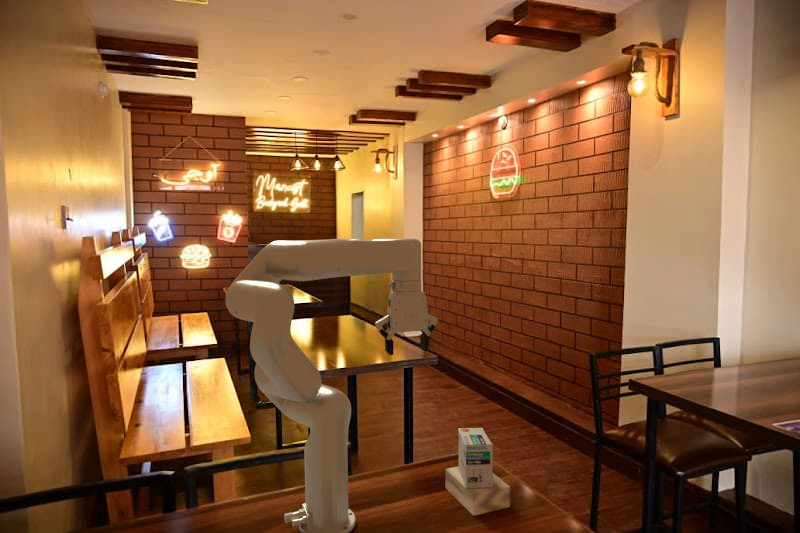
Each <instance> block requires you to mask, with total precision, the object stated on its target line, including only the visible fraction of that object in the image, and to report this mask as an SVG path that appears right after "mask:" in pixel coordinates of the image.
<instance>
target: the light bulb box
mask: <svg viewBox="0 0 800 533" xmlns="http://www.w3.org/2000/svg"><path fill="white" fill-rule="evenodd" d="M457 433H458V435H457V437H458V439H457V440H458V466H459V471H460V473H461V476H462V479H463V482H464V484H465V487H466V488H492V487H493V473H494V472H493V470H494V469H493V466H494V465H493V464H494V462H493V461H494V460H493V459H494V458H493V455H494V451H493V450H494V448H493V445H494V444H493V443H492V441H491V439H490V438H489V437H488V435H487V433H486V430H484V428H483V427H465V428H464V427H461V428H458V432H457Z"/></svg>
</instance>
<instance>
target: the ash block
mask: <svg viewBox="0 0 800 533" xmlns="http://www.w3.org/2000/svg"><path fill="white" fill-rule="evenodd" d="M444 475H445V489H446V490H447V491H448V492H449V493H450V494H451V495H452V497H453V498H455V499H456V500H457V501H458V503H460V504H461V505H462V506H463V507H464V508H465V509H466V510H467V511H468V512H469V514H471V515H472V516H473V517H475V516H478V515H482V514H487V513H491V512H495V511H499V510H502V509H507V508H511V507H510V506H511V486H510V485H509V484H508V483H507V482H505V481H504V480H503V479H502V478H500V477H499V476H497V475H496V474H495V472H493V487H492V488H466V487H465V484H464V482H463V479H462V476H461V473H460V471H459V465H458V466H453V467H449V468H445V474H444Z"/></svg>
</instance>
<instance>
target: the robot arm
mask: <svg viewBox="0 0 800 533" xmlns="http://www.w3.org/2000/svg"><path fill="white" fill-rule="evenodd" d="M379 274H380V275H381V274H391V282H388V283H387V284H386V286H387V289H390V290H391V291H390V292H389V296H388V301H387V302H388V303H387V310H386V311H387V312H386V315H385V316H383V317H382V318H380V319H378V320H377V321H375V323H374V326H375V327H376V330H377V331H378V333H379V334H380V335H381V336H382V337H383V338H384V348H385V349H384V350H385V352H386V354H388V355H389V356H393V355H394V340H393V339H392V338H393V337H394V335H395V334H396V333H398V334H399V333H409V332H419V331H420V332H421V334H420V336H419V337H420V342H419V343H420V346H419V347H420V349H421V350H422V351H424V352H428V351H429V346H430V336H431V334H432V332H434V330H435V328H436V325H437V323H438V320H439V318H438V317H436V316H434V315H432V314H429V312H428V311H429V310H428V303H427V297H426V293H425V291H422V243H421V241H420V239H417V238H374V239H372V240H369V239H359V238H358V239H357V238H331V239H329V238H327V239H311V240H310V239H307V240H281V239H279V240H274V241H272V242H270V243H268V244H267V245H265V247H263V248H262V249H261V250H259V252H258V253H257V254H256V255H255V256H254V258H252V259H251V261H250V262H249V263H248V264H247V266H245V267H244V269H242V271H241V272H240V273H239V274H238V276H237V277H236V278H235V279H234V280H233V282H231V284H230V285H229V287H228V289H227V291H226V294H225V306H226V308H227V311H228V312H229V313H230V315H232V316H233V317H234V318H236V319H239V320H242V321H245V322H250V323H253V324H252V326H251V332H250V340H249V341H250V342H249V350H250V355H251V357H252V359H253V361H254V362H255V363H256V364H255V367H254V373H253V374H254V380H255V383H256V385H257V387H258V388H259V390H260V391H261V392H262V393H263V394H264V395H265V397H266V398H267V399H268V400H269V401H270V402H271V403H272V404H273V405H275V407H276V408H277V409H278V411H280V413H282V414H284V416H286V418H289V419H290V420H292V421H295V422H297V423H300V424H302V425H304V426H306V427H307V428H309V429H310V430H309V431H310V432H309V434H308V436H307V439H306V441H305V444H304V451H303V453H304V454H303V455H304V458H303V459H304V486H305V488H304V492H305V493H304V494H305V499H304V500H305V502H304V503H302V506H301V508H300V509H299V508H298V510H296V511H292V512H287V513H284V515H283V518H284V523H285V524H287V523H291V526H292V527H297V526H298V528H299V531H300V533H350V532H351V531H352V530H353V529H354V527H355V525H356V515H355V513H354V511H353V510H351V509H350V508H349V472H348V471H349V470H348V468H349V466H348V463H349V462H348V461H349V460H348V436H349V426H350V422H351V418H352V417H351V416H352V404H351V402H350V401H351V400H350V399H349V398H348V396H347V395H346V394H345V393H344V392H342V391H341V390H339V389H338V388H335V387H332V386H330V385H326V384H322V376H321V373H320V370H319V369H318V367H317V366H316V365H315V363H313V362H312V360H311V359H310V358H309V357H308V355H307V354H306V353H305V352H304V351H303V349H302V348H301V347H300V346H299V345H298V344H297V342H296V341H295V340H294V338H293V336H292V333H291V332H292V331H291V326H292V322H293V317H294V313H295V299H294V296H293V293H292V292H291V290H290V289H288V287H286V286H285V285H283V284H281V283H280V282H281V281H282V280H284V281H292V282H293V281H294V282H308V281H315V280H323V279H332V278H342V277H358V276H365V275H367V276H368V275H379ZM385 324H386V327H387V329H386V330H385V329H384V327H383V325H385Z"/></svg>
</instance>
